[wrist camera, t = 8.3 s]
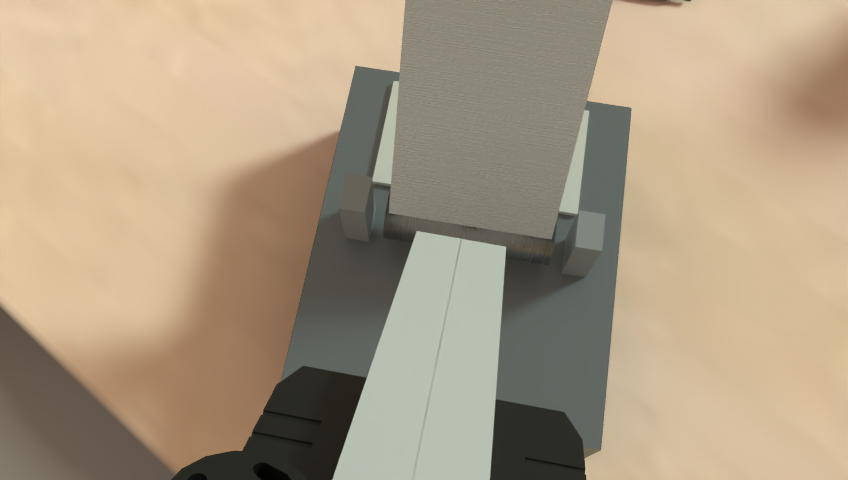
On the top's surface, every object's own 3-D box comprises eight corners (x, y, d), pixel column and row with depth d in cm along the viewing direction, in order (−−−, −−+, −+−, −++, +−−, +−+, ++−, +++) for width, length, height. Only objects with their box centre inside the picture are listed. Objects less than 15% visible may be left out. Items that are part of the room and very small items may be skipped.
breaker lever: (552, 280, 25) (660, -126, 17) (375, 251, 25) (403, -161, 17) (553, 240, 26) (653, -149, 18) (386, 212, 26) (416, -181, 19)
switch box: (576, 462, 28) (620, 440, 22) (296, 412, 28) (263, 377, 22) (606, 158, 32) (650, 68, 26) (362, 120, 32) (350, 23, 26)
